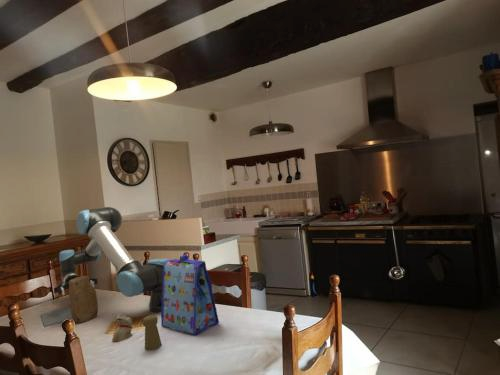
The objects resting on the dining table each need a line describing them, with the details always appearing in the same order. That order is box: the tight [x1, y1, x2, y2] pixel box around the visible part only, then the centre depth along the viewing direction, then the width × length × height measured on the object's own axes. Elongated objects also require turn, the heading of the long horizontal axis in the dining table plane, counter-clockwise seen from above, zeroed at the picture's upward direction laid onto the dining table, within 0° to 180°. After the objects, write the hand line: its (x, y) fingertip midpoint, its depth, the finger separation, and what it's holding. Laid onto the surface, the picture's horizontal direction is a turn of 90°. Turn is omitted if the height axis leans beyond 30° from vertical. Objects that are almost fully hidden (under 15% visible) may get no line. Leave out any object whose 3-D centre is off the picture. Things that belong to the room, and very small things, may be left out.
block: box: [68, 275, 99, 324], centre depth 171 cm, size 11×8×20 cm
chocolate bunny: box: [111, 312, 133, 343], centre depth 144 cm, size 6×8×10 cm
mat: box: [40, 306, 73, 328], centre depth 181 cm, size 24×15×1 cm, turn 34°
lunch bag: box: [160, 254, 220, 336], centre depth 149 cm, size 22×14×29 cm, turn 49°
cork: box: [142, 314, 163, 351], centre depth 132 cm, size 6×6×11 cm
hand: (78, 288), depth 179 cm, fingers open, 13 cm apart
